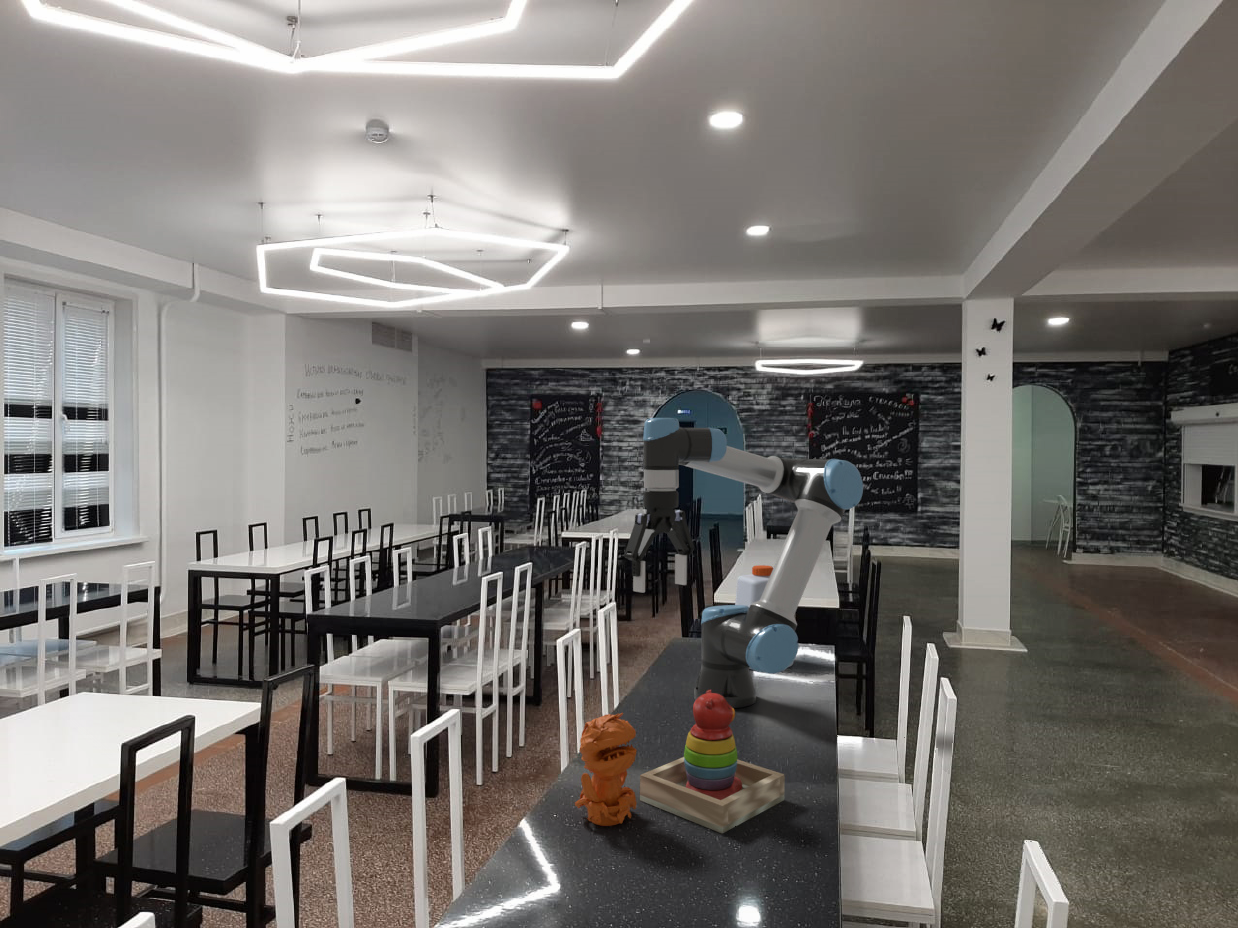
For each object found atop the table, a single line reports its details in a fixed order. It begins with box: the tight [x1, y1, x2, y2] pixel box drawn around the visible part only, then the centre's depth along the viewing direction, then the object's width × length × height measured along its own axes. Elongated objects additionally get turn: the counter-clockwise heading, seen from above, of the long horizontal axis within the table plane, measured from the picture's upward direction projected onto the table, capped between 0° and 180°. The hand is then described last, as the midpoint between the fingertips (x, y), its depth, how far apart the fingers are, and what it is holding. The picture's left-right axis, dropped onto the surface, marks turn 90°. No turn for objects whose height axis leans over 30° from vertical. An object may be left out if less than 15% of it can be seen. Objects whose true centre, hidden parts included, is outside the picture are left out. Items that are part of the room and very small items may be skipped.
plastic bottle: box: [734, 564, 795, 671], centre depth 239 cm, size 15×15×28 cm
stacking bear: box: [683, 690, 742, 800], centre depth 147 cm, size 11×10×18 cm
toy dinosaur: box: [574, 712, 638, 827], centre depth 139 cm, size 11×11×18 cm
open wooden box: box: [639, 756, 785, 834], centre depth 147 cm, size 18×18×4 cm
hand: (660, 588), depth 180 cm, fingers open, 13 cm apart
